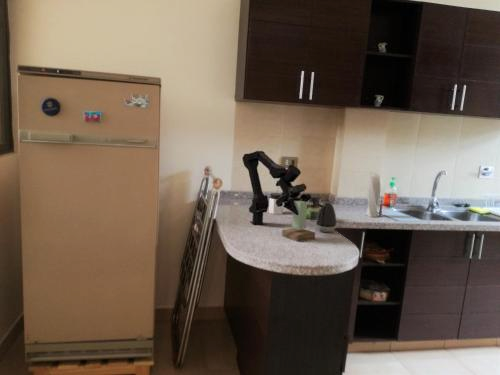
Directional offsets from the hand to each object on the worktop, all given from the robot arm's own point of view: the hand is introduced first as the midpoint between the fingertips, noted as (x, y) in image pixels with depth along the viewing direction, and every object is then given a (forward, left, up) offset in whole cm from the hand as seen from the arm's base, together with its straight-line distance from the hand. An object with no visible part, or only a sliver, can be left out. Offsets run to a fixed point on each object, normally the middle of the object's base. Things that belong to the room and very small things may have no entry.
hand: (301, 214), depth 182 cm
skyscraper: (-38, +71, -12) cm, 81 cm away
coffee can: (-36, +26, -12) cm, 46 cm away
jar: (-57, +13, -12) cm, 60 cm away
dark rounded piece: (-9, +19, -12) cm, 25 cm away
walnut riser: (-1, 0, -12) cm, 12 cm away
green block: (-1, 0, -7) cm, 7 cm away
